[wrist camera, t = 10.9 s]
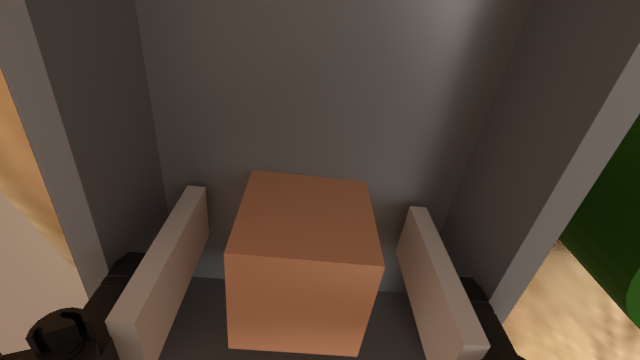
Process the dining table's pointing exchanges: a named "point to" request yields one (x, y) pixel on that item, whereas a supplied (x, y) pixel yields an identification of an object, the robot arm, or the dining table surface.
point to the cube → (302, 265)
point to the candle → (612, 227)
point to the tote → (323, 128)
